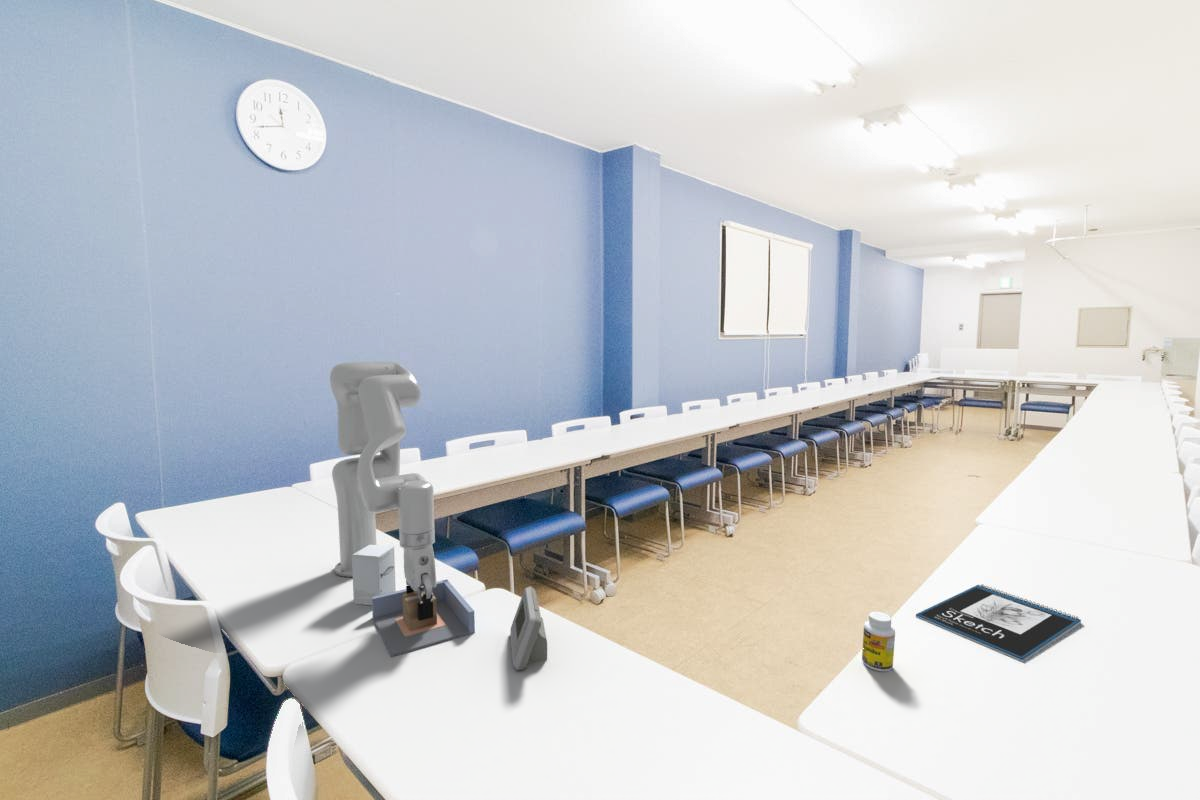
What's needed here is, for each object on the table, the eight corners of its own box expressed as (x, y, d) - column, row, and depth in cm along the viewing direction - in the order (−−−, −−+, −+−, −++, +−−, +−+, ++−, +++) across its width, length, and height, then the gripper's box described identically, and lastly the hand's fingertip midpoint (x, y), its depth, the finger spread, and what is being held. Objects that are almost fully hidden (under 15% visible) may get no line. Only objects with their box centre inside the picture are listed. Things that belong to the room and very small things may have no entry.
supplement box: (380, 607, 135) (377, 556, 133) (352, 604, 136) (350, 554, 135) (396, 593, 142) (395, 545, 140) (370, 590, 143) (368, 543, 142)
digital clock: (512, 630, 124) (511, 584, 123) (552, 630, 124) (551, 584, 123) (498, 673, 108) (497, 621, 107) (544, 673, 108) (544, 621, 107)
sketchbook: (915, 619, 130) (915, 611, 130) (979, 589, 146) (979, 582, 146) (1022, 664, 112) (1023, 654, 112) (1082, 624, 128) (1083, 616, 127)
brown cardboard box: (429, 613, 130) (428, 588, 130) (437, 623, 125) (436, 598, 125) (403, 619, 127) (402, 594, 126) (409, 631, 122) (408, 605, 121)
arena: (372, 617, 129) (371, 597, 129) (447, 598, 139) (447, 579, 138) (391, 657, 113) (390, 633, 113) (474, 632, 123) (474, 610, 122)
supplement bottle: (855, 660, 112) (858, 612, 111) (874, 654, 115) (877, 607, 114) (879, 675, 107) (882, 625, 106) (899, 668, 110) (902, 619, 108)
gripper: (445, 545, 119) (448, 621, 121) (423, 522, 133) (425, 591, 135) (409, 552, 115) (412, 631, 117) (390, 528, 129) (393, 598, 131)
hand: (419, 609), depth 126 cm, fingers open, 9 cm apart
